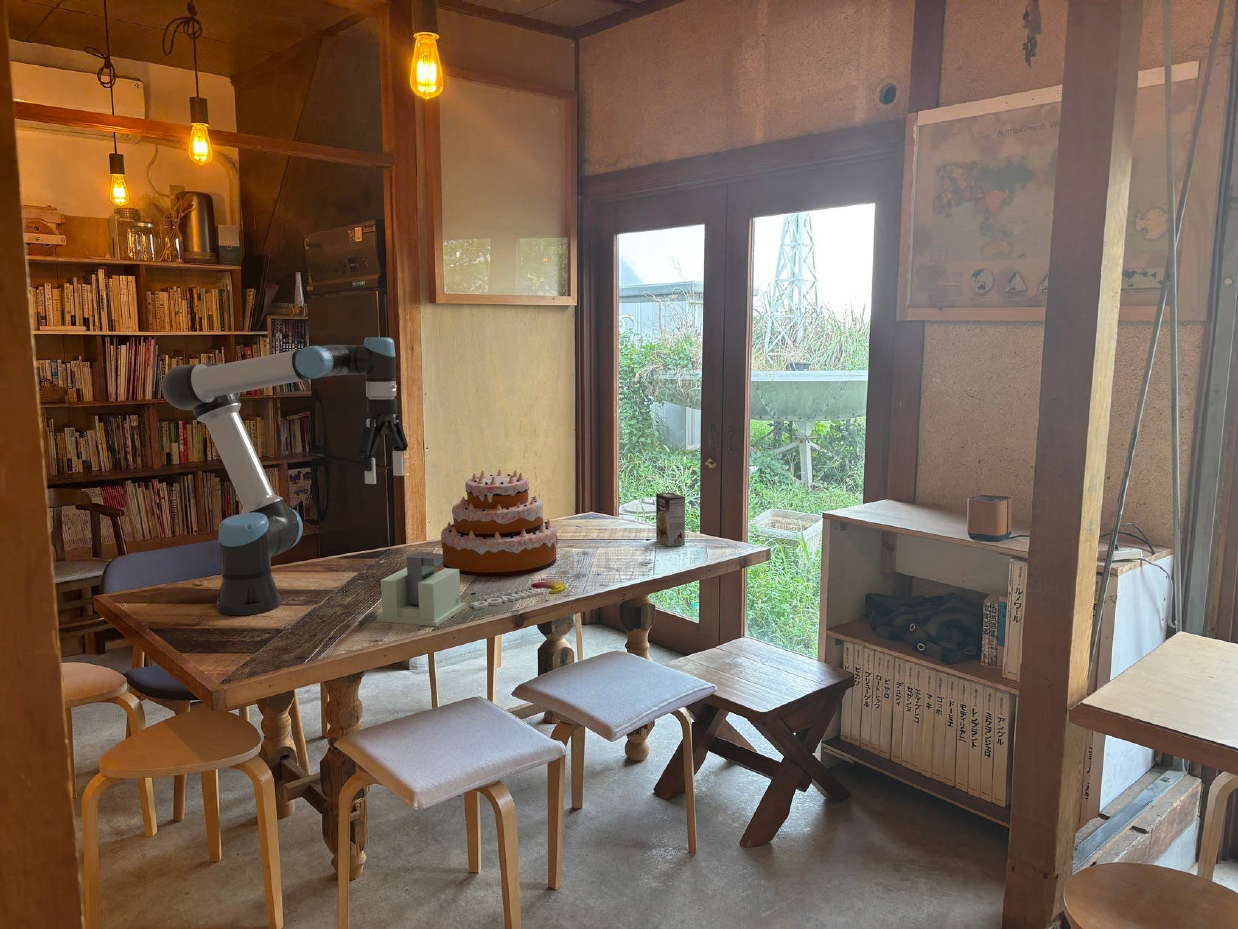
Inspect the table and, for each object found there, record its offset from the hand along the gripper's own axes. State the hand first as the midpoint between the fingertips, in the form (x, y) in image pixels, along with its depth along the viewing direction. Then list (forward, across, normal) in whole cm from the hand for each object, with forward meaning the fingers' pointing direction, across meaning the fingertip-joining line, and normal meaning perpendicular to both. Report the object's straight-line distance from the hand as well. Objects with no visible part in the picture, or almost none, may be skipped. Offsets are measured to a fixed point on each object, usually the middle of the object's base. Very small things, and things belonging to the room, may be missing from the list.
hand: (385, 479), depth 234 cm
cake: (+32, +41, -13) cm, 53 cm away
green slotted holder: (+31, -11, -16) cm, 37 cm away
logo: (+32, +9, -33) cm, 46 cm away
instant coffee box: (+31, +78, -58) cm, 102 cm away
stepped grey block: (+30, -11, -17) cm, 37 cm away
